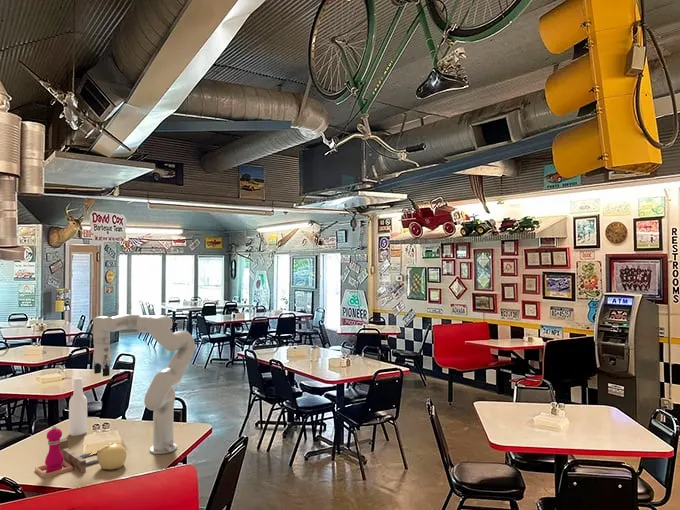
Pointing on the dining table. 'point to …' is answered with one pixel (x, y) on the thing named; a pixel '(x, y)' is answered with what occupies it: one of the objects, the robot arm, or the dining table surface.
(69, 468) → the collar
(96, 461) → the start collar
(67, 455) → the door edge board
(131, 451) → the dining table surface
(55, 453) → the pepper mill
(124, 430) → the dining table surface
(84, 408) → the alcohol
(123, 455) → the pale yellow round fruit
